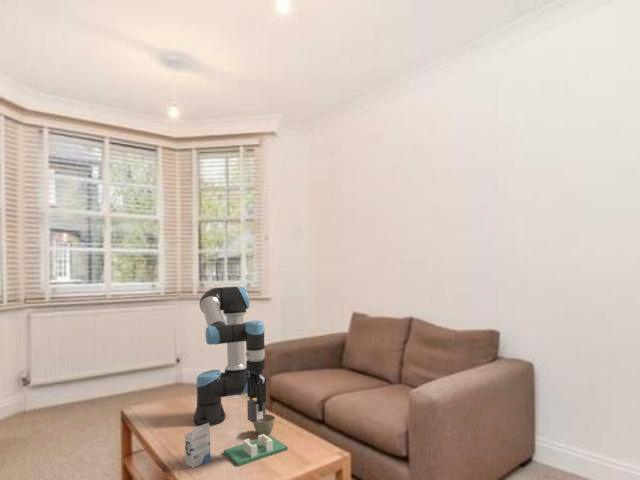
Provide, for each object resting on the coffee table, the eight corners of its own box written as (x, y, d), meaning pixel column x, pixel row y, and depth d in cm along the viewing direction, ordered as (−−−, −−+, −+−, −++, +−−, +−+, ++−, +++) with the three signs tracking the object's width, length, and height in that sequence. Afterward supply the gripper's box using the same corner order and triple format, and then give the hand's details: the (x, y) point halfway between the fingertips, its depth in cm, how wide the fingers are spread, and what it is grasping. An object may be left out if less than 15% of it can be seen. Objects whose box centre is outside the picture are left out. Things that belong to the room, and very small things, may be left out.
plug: (247, 419, 174) (247, 399, 175) (260, 416, 178) (260, 396, 178) (252, 422, 171) (251, 402, 172) (265, 418, 175) (265, 398, 175)
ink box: (203, 456, 173) (202, 419, 173) (211, 460, 170) (210, 422, 170) (184, 464, 166) (184, 426, 167) (192, 468, 163) (191, 429, 164)
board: (223, 453, 175) (223, 440, 175) (270, 438, 188) (270, 426, 188) (238, 466, 164) (238, 452, 164) (287, 449, 177) (287, 436, 177)
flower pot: (271, 439, 187) (271, 422, 187) (249, 438, 189) (249, 421, 189) (278, 430, 197) (277, 414, 197) (257, 429, 199) (257, 413, 199)
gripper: (238, 357, 180) (239, 413, 179) (257, 364, 167) (258, 426, 166) (254, 354, 185) (255, 409, 184) (273, 361, 171) (275, 421, 170)
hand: (256, 417), depth 175 cm, fingers closed on plug, 4 cm apart
